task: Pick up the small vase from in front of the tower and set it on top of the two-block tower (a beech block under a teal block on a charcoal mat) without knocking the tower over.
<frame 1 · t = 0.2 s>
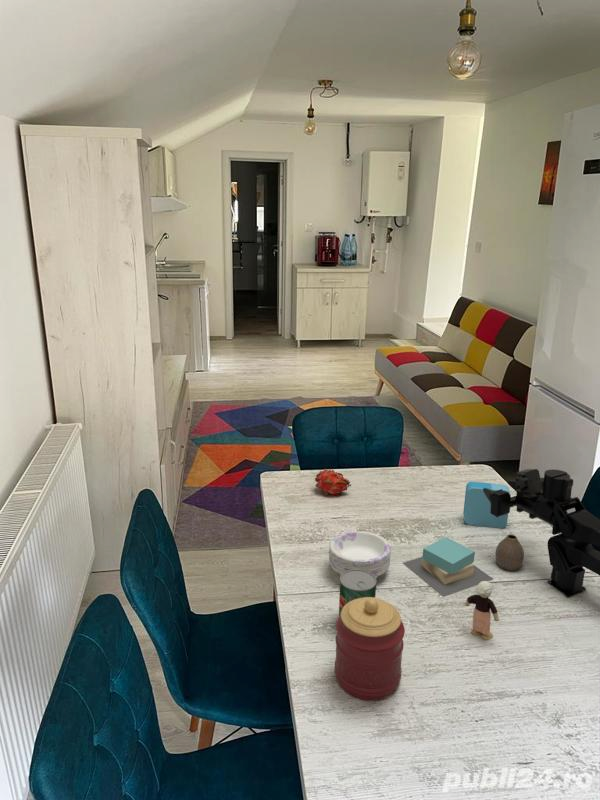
hand: (496, 485, 164), 16 cm above the table, tool horizontal, fingers open, 9 cm apart
charcoal mat: (446, 572, 153), on the table
canned tomato: (356, 622, 134), on the table
dragon fruit: (332, 493, 196), on the table
data package: (484, 523, 178), on the table
vase: (507, 567, 156), on the table
paper bowls: (358, 573, 153), on the table
canister: (367, 677, 119), on the table
grandmother figurine: (479, 633, 132), on the table
beech block: (446, 570, 153), resting on charcoal mat, touching teal block
teal block: (448, 560, 152), point 3 cm above the table, touching beech block
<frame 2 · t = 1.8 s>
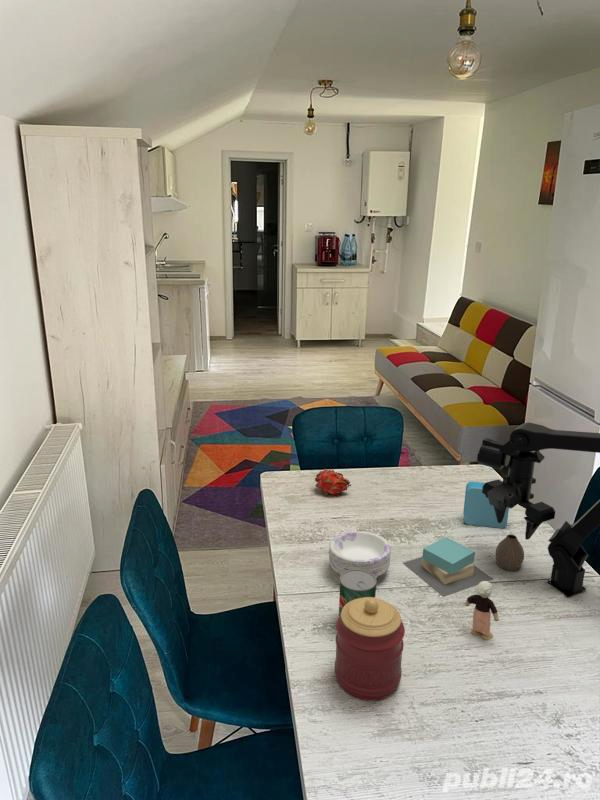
hand: (513, 530, 153), 10 cm above the table, tool pointing down, fingers open, 9 cm apart
nothing on the table moved.
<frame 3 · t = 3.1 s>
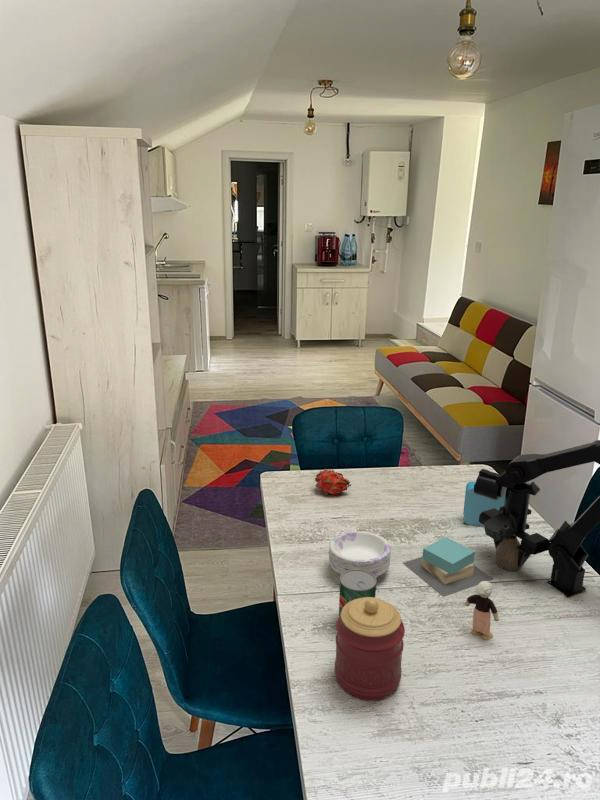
hand: (509, 559, 156), 2 cm above the table, tool pointing down, fingers closed on vase, 7 cm apart
vase: (507, 567, 156), on the table, touching gripper
everything else where it was.
when the fingers open (10 cm above the table, at t = 6.7 s): vase drops 1 cm, resting on teal block.
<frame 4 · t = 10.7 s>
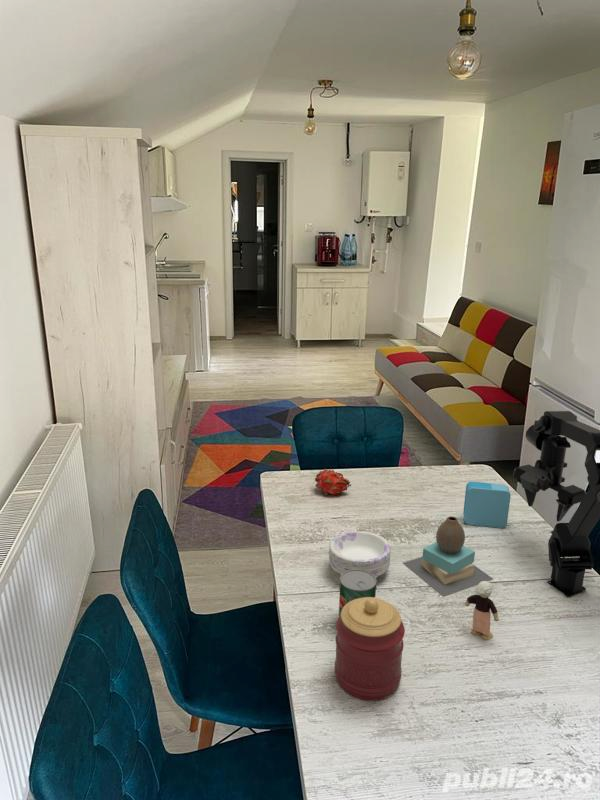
hand: (544, 513, 159), 12 cm above the table, tool pointing down, fingers open, 9 cm apart
vase: (449, 550, 151), point 6 cm above the table, touching teal block
teal block: (448, 560, 152), point 3 cm above the table, touching beech block, vase
everything else where it was.
at the end: vase 0.1 cm off-centre on the beech block, point 5.8 cm above the beech block's base; teal block 0.0 cm off-centre on the beech block, point 3.0 cm above the beech block's base; beech block moved 0.0 cm from its start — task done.
